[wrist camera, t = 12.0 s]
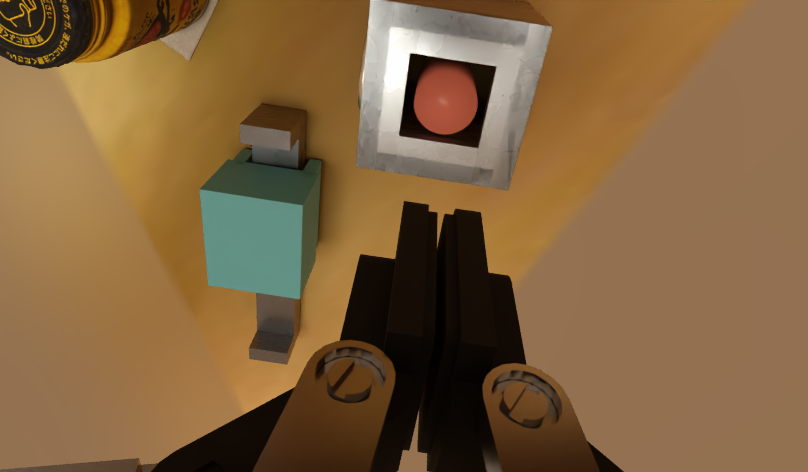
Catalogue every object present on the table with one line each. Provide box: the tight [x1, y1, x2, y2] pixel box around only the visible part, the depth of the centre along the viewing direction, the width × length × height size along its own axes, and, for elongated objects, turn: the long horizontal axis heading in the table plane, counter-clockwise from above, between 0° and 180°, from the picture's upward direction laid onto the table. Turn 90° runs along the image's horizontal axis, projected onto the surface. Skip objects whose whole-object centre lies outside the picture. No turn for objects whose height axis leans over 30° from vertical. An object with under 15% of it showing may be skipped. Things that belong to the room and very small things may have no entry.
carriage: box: [200, 149, 322, 299], centre depth 34 cm, size 7×6×6 cm
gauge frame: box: [356, 0, 553, 190], centre depth 27 cm, size 8×8×8 cm
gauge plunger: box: [414, 56, 478, 134], centre depth 26 cm, size 3×3×5 cm
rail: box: [240, 104, 307, 364], centre depth 36 cm, size 19×3×4 cm, turn 172°
